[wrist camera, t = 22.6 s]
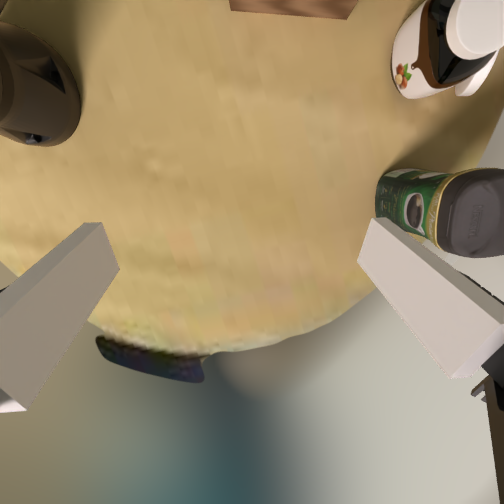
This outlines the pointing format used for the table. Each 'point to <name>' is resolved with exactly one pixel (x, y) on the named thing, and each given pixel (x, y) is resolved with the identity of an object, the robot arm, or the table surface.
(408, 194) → the coffee jar
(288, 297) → the table surface
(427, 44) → the spread jar
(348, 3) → the walnut block
